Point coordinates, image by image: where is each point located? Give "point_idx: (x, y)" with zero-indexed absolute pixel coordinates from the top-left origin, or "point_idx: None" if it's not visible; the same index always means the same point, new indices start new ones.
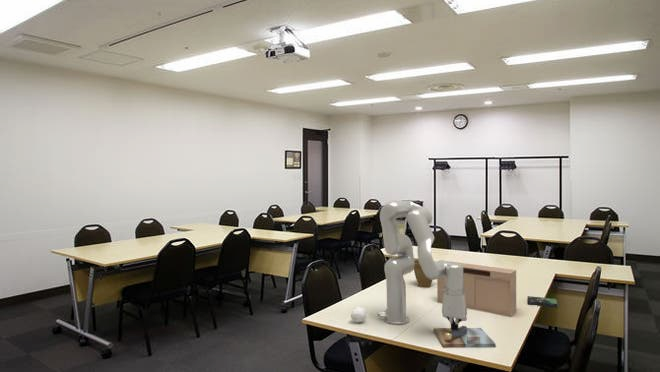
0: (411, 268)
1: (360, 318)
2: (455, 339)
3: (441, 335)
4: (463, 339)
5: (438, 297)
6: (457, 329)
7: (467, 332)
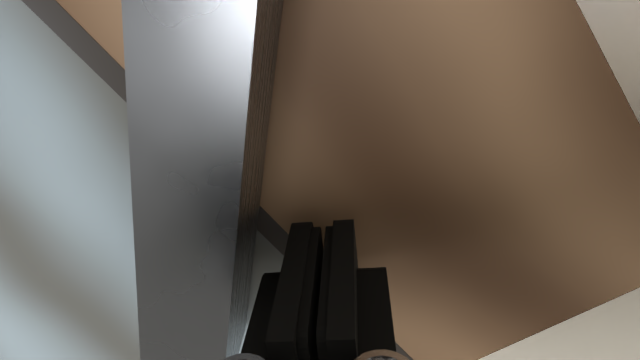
0: None
1: None
2: None
3: (494, 34)
4: (94, 102)
5: None
6: (190, 226)
7: None
